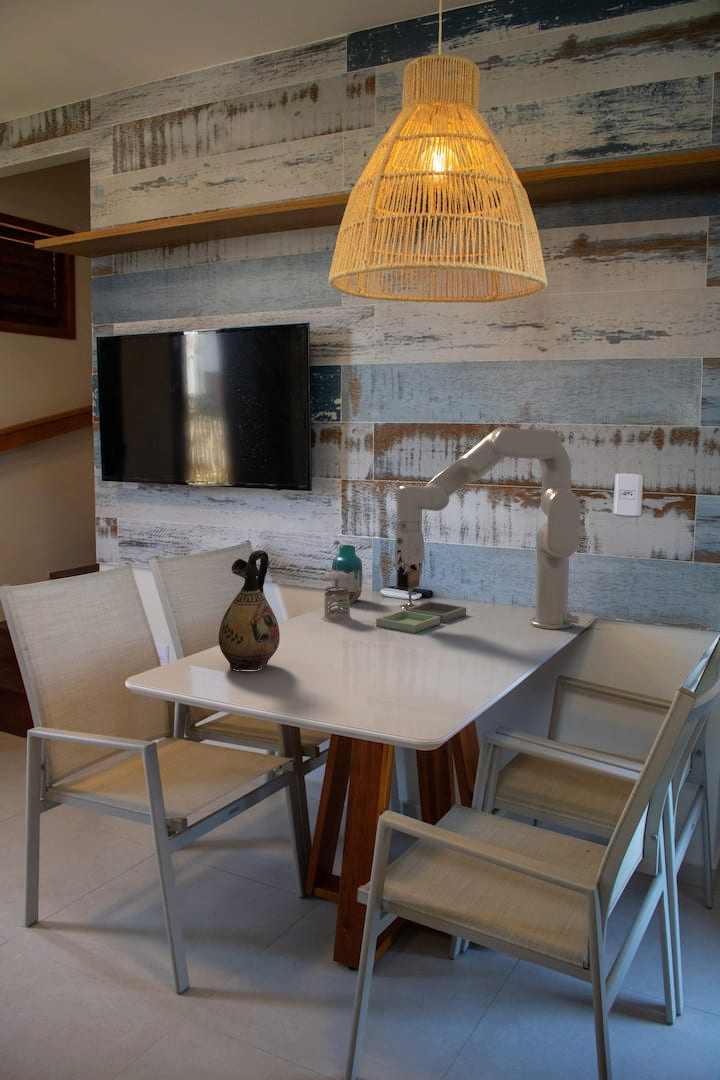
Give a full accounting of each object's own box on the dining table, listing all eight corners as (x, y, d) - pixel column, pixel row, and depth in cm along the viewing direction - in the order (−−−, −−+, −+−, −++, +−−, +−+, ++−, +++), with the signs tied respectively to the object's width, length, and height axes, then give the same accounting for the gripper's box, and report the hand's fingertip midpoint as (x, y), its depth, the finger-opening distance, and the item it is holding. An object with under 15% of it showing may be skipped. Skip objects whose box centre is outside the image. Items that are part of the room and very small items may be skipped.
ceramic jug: (255, 679, 212) (253, 558, 207) (206, 669, 220) (204, 553, 215) (295, 662, 226) (294, 549, 222) (248, 654, 234) (247, 544, 230)
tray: (439, 624, 267) (440, 616, 267) (414, 633, 256) (414, 625, 256) (402, 617, 275) (402, 610, 275) (376, 626, 264) (376, 618, 264)
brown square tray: (466, 614, 280) (466, 607, 279) (443, 623, 269) (443, 615, 268) (429, 608, 288) (429, 601, 288) (405, 616, 277) (405, 609, 276)
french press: (317, 616, 277) (317, 538, 273) (352, 614, 280) (352, 537, 277) (325, 623, 268) (325, 543, 264) (361, 621, 271) (362, 541, 267)
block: (419, 586, 264) (419, 570, 264) (410, 589, 260) (410, 572, 260) (405, 584, 267) (405, 568, 267) (396, 586, 263) (396, 570, 263)
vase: (368, 602, 298) (368, 546, 295) (341, 605, 292) (341, 549, 290) (352, 596, 307) (353, 542, 304) (326, 599, 302) (326, 544, 299)
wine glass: (426, 605, 293) (426, 561, 290) (414, 610, 286) (415, 565, 284) (405, 602, 297) (405, 559, 294) (393, 607, 290) (394, 563, 288)
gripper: (403, 530, 252) (402, 592, 255) (435, 524, 266) (433, 583, 268) (382, 528, 257) (381, 588, 259) (414, 522, 270) (413, 580, 273)
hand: (407, 585), depth 264 cm, fingers closed on block, 5 cm apart
